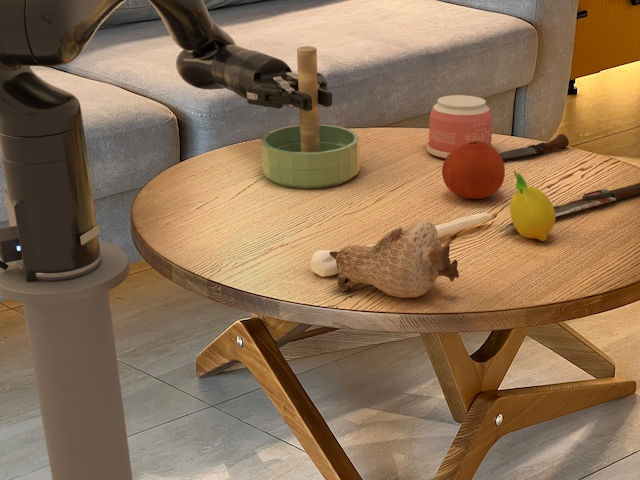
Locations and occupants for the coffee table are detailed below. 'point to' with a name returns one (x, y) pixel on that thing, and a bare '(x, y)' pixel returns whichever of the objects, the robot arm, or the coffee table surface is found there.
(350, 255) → the figurine
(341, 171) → the bowl
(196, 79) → the robot arm
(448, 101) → the container
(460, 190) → the fruit
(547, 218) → the lemon
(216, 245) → the coffee table surface
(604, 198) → the knife
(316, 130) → the stick
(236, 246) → the coffee table surface
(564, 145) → the knife
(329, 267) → the cream knobbed rod
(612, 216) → the coffee table surface
